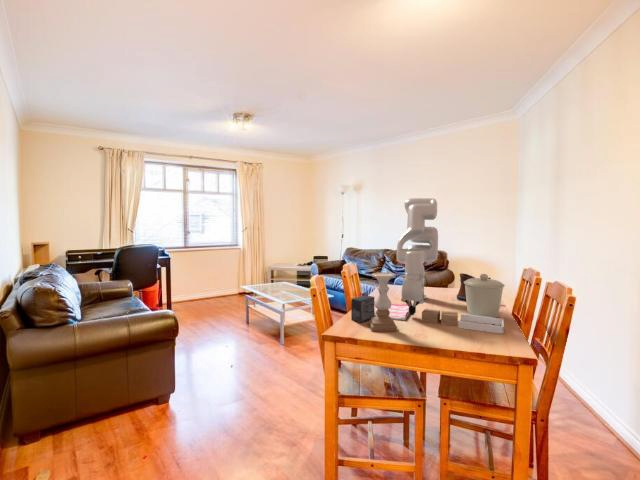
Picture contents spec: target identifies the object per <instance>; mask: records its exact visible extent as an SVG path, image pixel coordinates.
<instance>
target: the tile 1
mask: <svg viewBox="0 0 640 480" xmlns="http://www.w3.org/2000/svg"><path fill="white" fill-rule="evenodd" d="M439 321H441V310H437V309H431V308H424V309H423V310H422V311H421V322H424V323H432V324H438V323H439Z"/></svg>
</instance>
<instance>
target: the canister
mask: <svg viewBox="0 0 640 480" xmlns="http://www.w3.org/2000/svg"><path fill="white" fill-rule="evenodd" d="M488 278H489V275H488V274H486V273H481V274H480V275H479V277H475V278H471V279H468V280H466V281H464V284H465V291H466V303H465V304H466V310H467V314H468V315H476V316H484V317H492V318H498V316H499V312H500V308H501V302H502V295H503V291H504V288H505V286H506V285H505V283H503V282H502V281H499V280H496V279H492V278H491V279H488Z"/></svg>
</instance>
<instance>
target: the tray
mask: <svg viewBox="0 0 640 480" xmlns="http://www.w3.org/2000/svg"><path fill="white" fill-rule="evenodd" d="M504 320H505V319H504V318H498V317H496V318H492V317H484V316H476V315H469V314H468V313H466V314H465V313H461V314H460V320H458V326H457V327H458V329H466V330H471V331H479V332H485V331H486V332H487V333H493V334H500V333H501V335H504V334H505V322H504ZM485 323H486V324H485ZM492 324H495V325H492ZM500 325H501V326H500Z"/></svg>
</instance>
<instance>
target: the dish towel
mask: <svg viewBox="0 0 640 480" xmlns="http://www.w3.org/2000/svg"><path fill="white" fill-rule="evenodd" d="M376 310H377V308H376V307H375V308H374V315H375V316H377V314H376ZM388 310H389V311H390V314H389V315H388V316H389V317H391V318H392V319H393V320H394V321H406V319H407V318H408V316H409V315H410V313H409V306H408V305H407V304H406V303H405V304H404V303H401V304H398V303H392V302H391V307H390V308H389V309H388Z"/></svg>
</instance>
